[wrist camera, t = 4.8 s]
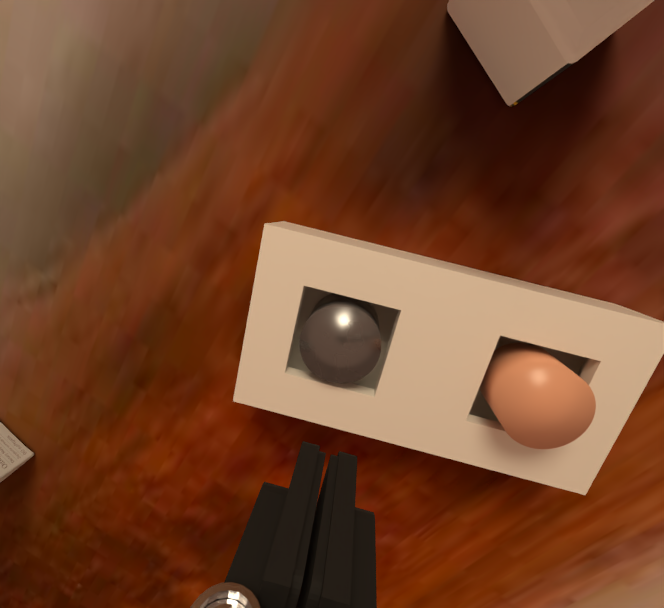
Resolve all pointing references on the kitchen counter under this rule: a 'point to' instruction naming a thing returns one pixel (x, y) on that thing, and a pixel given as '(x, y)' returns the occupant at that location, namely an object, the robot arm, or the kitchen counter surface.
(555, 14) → the medicine bottle
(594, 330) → the button console
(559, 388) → the light brown rounded piece
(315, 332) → the charcoal button
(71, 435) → the kitchen counter surface
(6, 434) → the supplement box
